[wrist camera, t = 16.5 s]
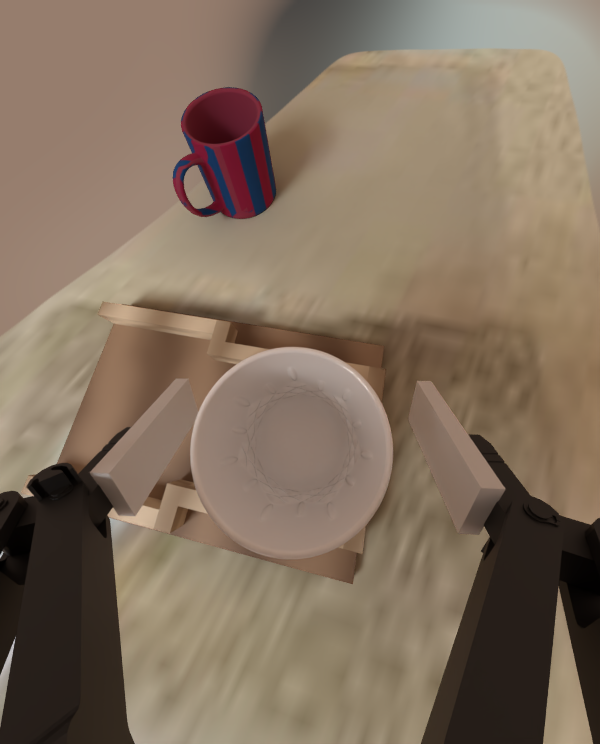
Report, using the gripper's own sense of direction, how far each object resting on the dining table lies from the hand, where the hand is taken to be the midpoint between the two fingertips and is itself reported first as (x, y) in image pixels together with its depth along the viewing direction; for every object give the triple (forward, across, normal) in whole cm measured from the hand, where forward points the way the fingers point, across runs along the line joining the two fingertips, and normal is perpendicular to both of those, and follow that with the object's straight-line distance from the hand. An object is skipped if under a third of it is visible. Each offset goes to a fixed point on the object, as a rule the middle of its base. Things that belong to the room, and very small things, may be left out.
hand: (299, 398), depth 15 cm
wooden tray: (+4, -7, -5) cm, 9 cm away
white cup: (+2, 0, -6) cm, 6 cm away
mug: (+20, -8, +11) cm, 24 cm away
